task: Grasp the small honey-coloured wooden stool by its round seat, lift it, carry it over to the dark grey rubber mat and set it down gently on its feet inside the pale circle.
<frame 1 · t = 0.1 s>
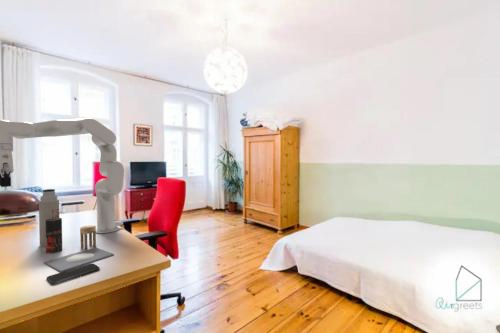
hand: (2, 186, 109), 31 cm above the table, tool pointing down, fingers open, 9 cm apart
thermos bottle: (50, 244, 124), on the table
stool: (88, 247, 119), on the table
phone: (74, 275, 90), on the table
mat: (80, 259, 105), on the table
deodorant: (54, 251, 114), on the table
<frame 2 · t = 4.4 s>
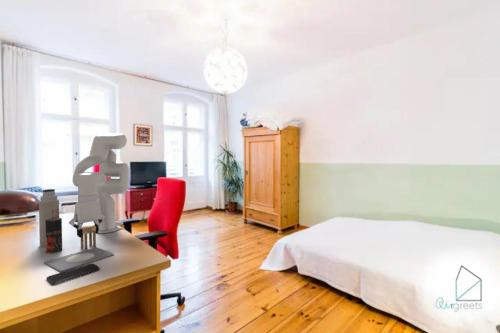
hand: (88, 234, 119), 6 cm above the table, tool pointing down, fingers closed on stool, 6 cm apart
stool: (88, 247, 119), on the table, touching gripper
everything else where it was.
when the fingers open (7 cm above the table, at t = 9.7 s): stool stays where it is, resting on mat.
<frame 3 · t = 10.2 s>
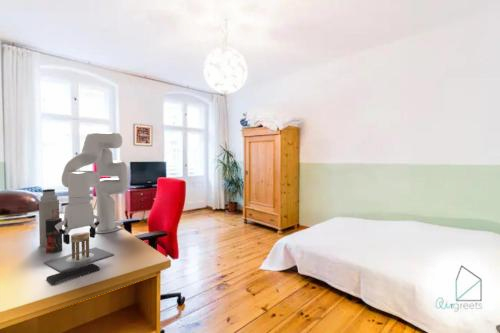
hand: (80, 240, 105), 8 cm above the table, tool pointing down, fingers open, 9 cm apart
stool: (80, 257, 105), point 1 cm above the table, touching mat
everything else where it was.
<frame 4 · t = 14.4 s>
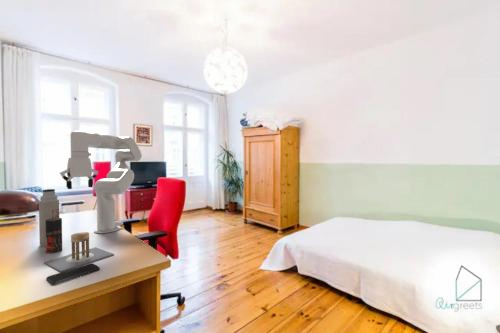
hand: (80, 188, 127), 28 cm above the table, tool pointing down, fingers open, 9 cm apart
nothing on the table moved.
at the end: stool inside the target area on the mat (0.1 cm from its centre), point 0.7 cm above the mat's base; stool tilted 0°; the gripper is holding nothing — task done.
